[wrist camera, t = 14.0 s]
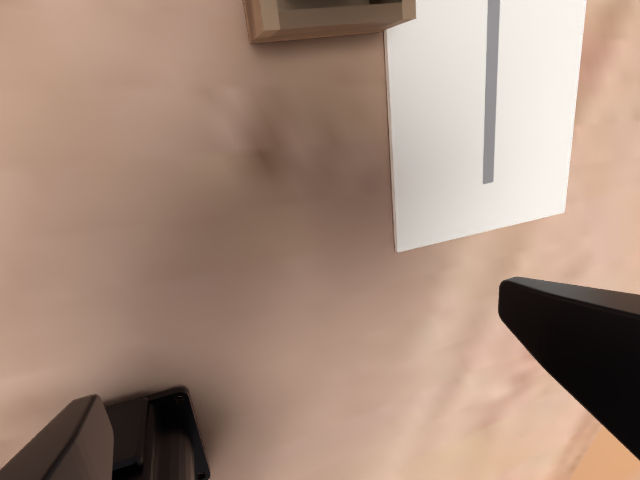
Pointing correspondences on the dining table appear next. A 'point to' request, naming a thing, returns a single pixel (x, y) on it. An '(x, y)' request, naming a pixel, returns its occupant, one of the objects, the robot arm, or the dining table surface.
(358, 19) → the brown square frame
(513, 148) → the paper
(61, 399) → the dining table surface
